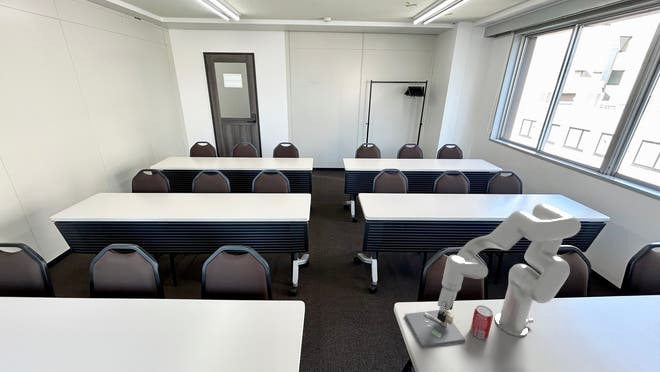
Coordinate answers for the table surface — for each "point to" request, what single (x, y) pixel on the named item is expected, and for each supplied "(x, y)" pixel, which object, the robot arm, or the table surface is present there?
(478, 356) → the table surface
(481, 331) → the soda can
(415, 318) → the grey flat slab
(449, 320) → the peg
